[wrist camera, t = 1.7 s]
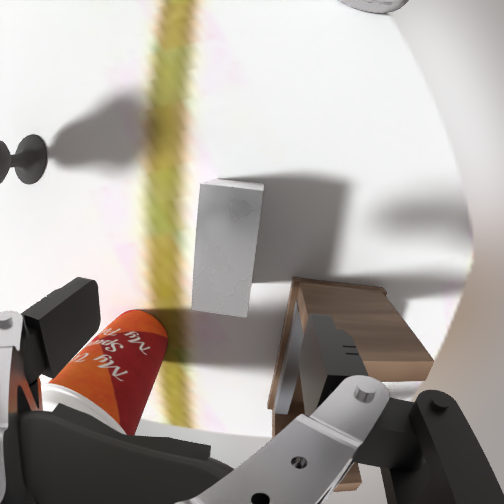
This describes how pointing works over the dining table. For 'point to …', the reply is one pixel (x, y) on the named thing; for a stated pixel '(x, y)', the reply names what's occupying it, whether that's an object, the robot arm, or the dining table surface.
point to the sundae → (24, 159)
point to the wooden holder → (364, 336)
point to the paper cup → (113, 372)
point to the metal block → (226, 246)
